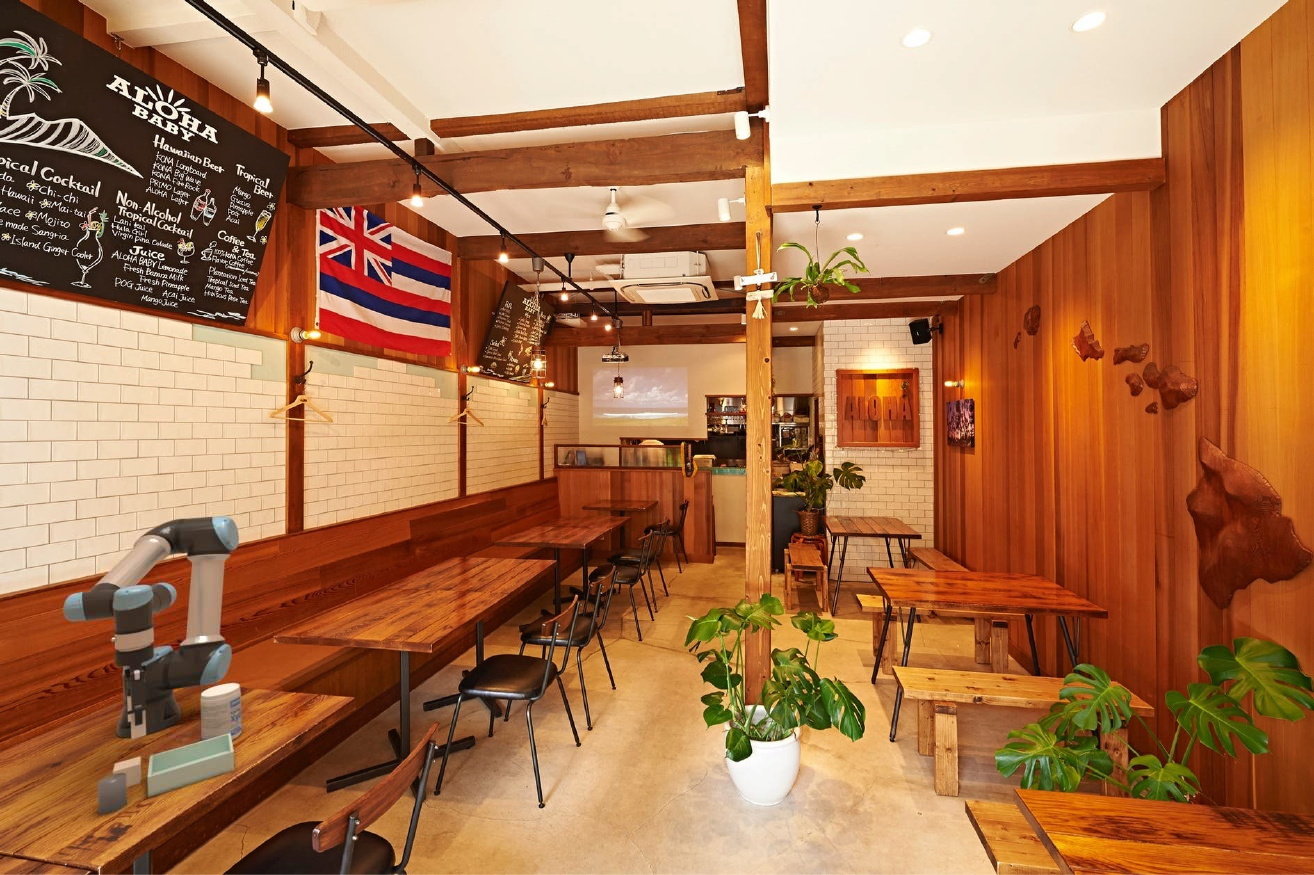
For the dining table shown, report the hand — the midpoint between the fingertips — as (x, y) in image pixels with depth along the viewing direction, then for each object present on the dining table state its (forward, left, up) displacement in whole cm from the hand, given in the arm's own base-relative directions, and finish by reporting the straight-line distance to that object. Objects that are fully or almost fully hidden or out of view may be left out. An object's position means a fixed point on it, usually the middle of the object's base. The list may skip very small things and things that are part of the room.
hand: (136, 728), depth 149 cm
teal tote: (+5, +11, -14) cm, 18 cm away
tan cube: (-1, -2, -14) cm, 14 cm away
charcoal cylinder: (+11, -4, -14) cm, 18 cm away
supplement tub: (-12, +18, -14) cm, 26 cm away
